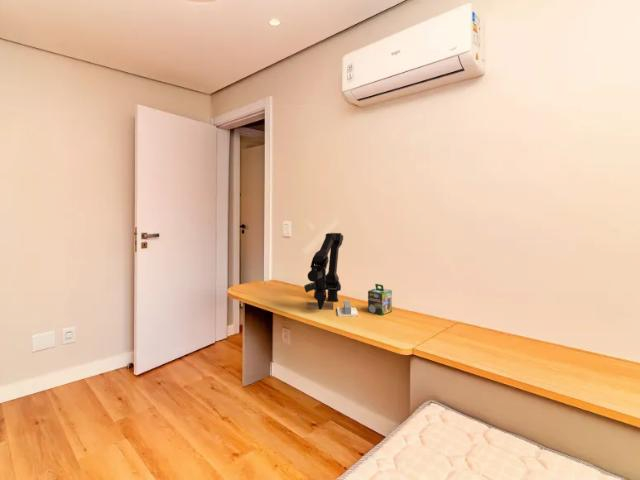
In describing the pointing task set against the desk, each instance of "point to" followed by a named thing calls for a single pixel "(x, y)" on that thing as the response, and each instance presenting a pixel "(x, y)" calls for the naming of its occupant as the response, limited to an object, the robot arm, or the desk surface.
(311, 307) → the bar
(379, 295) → the chalk box
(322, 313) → the desk surface
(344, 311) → the fulcrum
